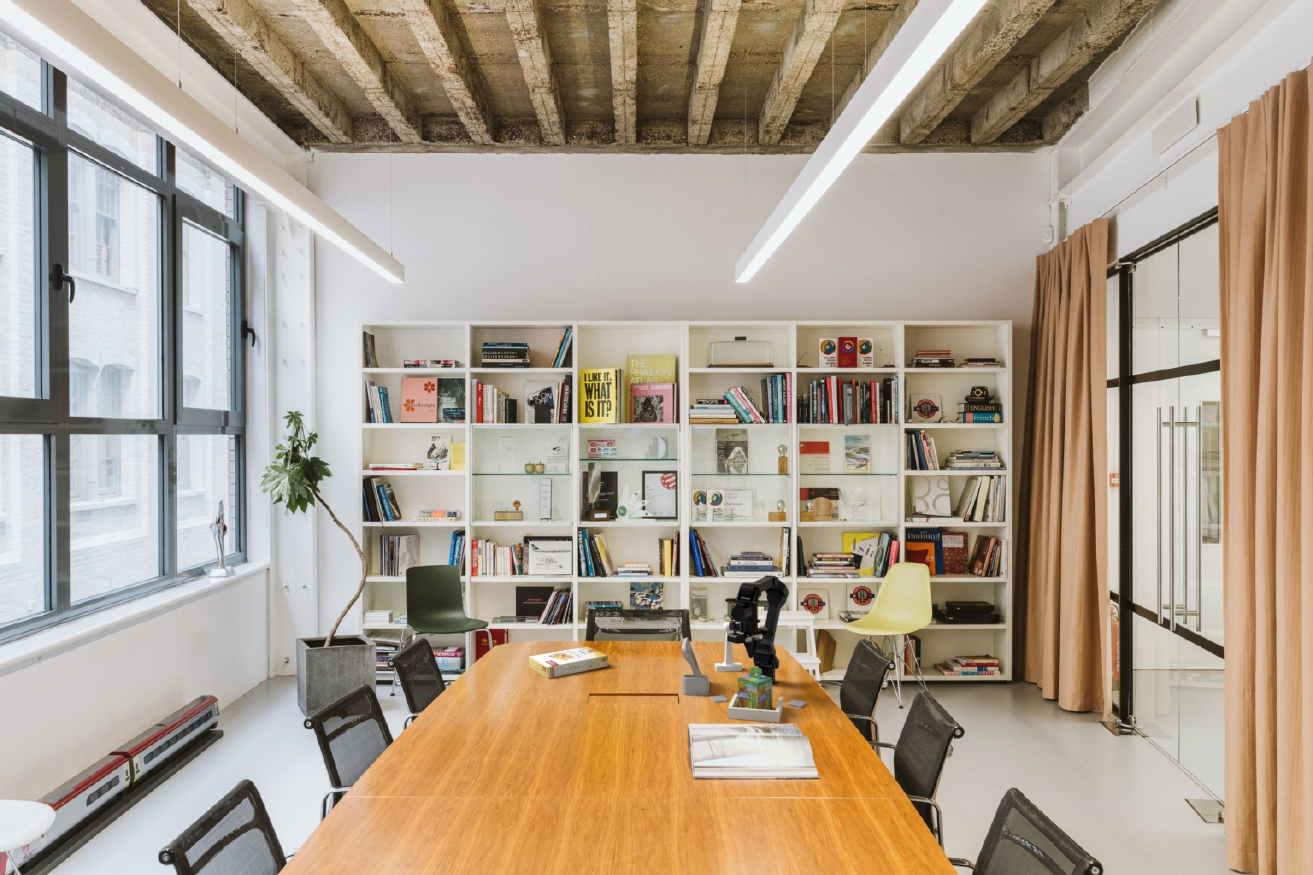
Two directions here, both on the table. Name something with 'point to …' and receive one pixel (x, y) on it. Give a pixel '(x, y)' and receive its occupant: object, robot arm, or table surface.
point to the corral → (754, 712)
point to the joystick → (728, 655)
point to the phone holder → (695, 682)
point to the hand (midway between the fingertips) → (750, 657)
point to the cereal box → (568, 661)
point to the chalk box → (755, 691)
